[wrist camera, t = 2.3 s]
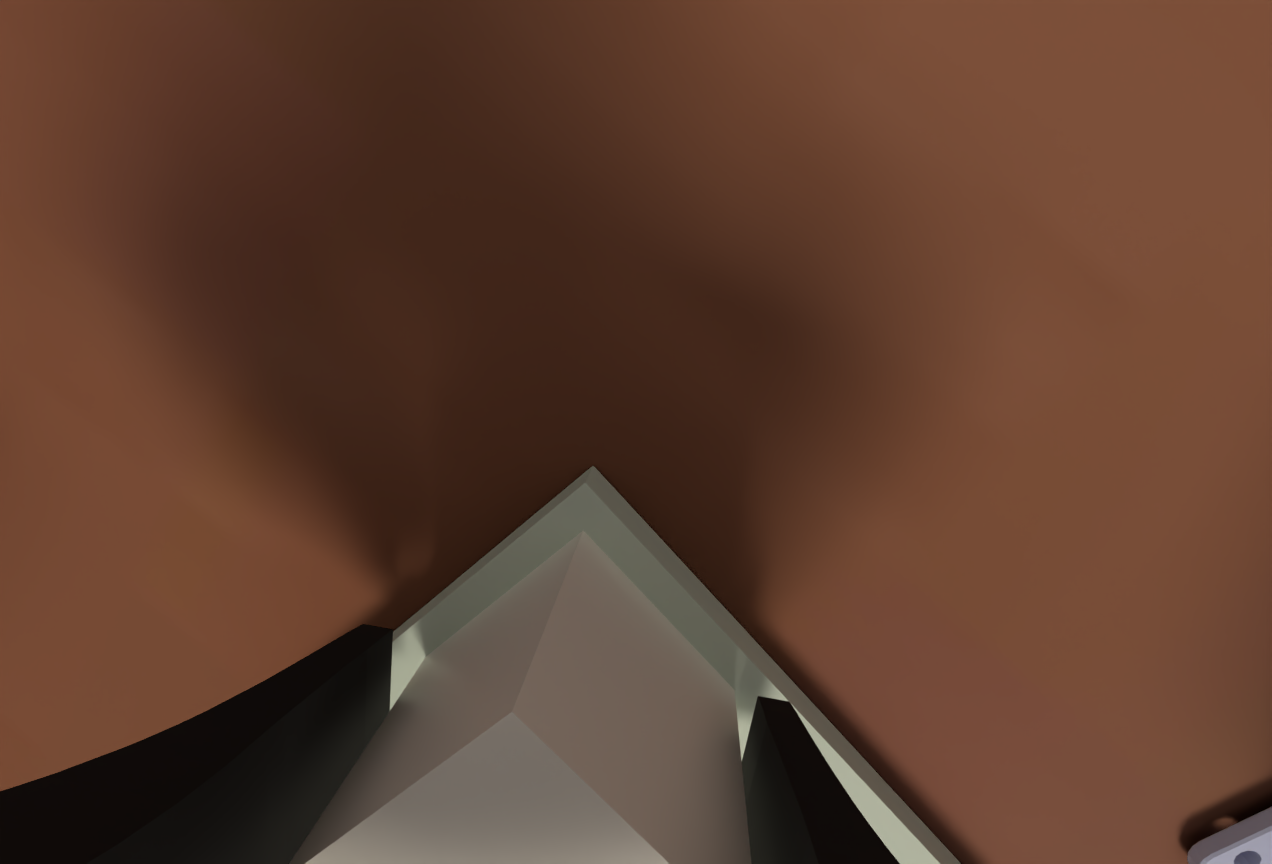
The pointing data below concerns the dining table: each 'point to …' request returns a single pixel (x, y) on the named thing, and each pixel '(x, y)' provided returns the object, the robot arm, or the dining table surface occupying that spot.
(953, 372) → the dining table surface
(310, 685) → the robot arm
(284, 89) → the dining table surface
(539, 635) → the cream colored cube
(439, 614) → the board
